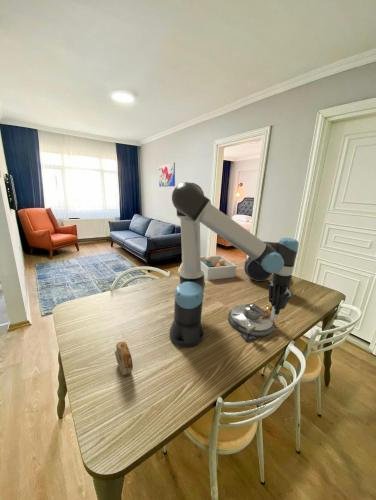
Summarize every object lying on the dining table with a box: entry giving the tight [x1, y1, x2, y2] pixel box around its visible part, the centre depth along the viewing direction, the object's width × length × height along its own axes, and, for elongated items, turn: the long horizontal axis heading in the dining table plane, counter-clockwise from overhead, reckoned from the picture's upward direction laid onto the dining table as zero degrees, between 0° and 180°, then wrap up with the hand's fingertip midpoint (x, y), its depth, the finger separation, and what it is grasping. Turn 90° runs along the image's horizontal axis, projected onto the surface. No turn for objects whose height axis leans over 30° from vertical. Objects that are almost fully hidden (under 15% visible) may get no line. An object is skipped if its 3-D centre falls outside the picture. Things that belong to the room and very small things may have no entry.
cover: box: [243, 303, 262, 320], centre depth 102 cm, size 8×8×6 cm
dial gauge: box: [240, 323, 257, 342], centre depth 92 cm, size 5×4×8 cm
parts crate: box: [201, 255, 237, 281], centre depth 162 cm, size 23×24×9 cm
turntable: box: [230, 304, 274, 332], centre depth 102 cm, size 20×20×6 cm
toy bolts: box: [204, 256, 226, 268], centre depth 163 cm, size 18×17×12 cm
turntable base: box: [227, 310, 276, 339], centre depth 104 cm, size 22×22×2 cm
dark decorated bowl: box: [244, 256, 273, 282], centre depth 151 cm, size 11×20×20 cm, turn 78°
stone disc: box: [114, 341, 134, 376], centre depth 73 cm, size 10×4×10 cm, turn 35°
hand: (273, 318), depth 99 cm, fingers closed
